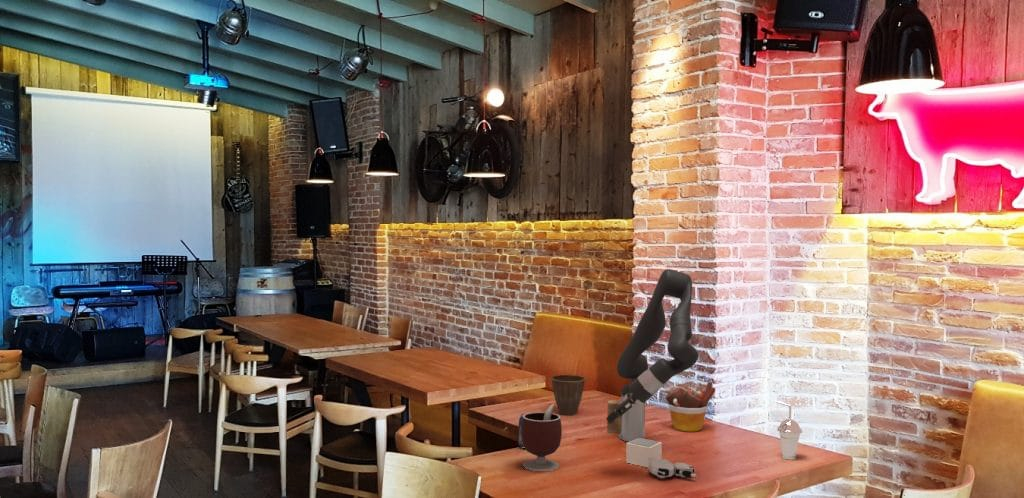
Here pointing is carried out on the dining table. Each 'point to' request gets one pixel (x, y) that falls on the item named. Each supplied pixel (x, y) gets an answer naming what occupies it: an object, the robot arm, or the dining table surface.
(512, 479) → the dining table surface
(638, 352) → the robot arm
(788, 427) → the cup with straw
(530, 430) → the mate gourd
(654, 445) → the block
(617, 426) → the walnut block
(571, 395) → the plant pot
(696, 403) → the bucket of meat
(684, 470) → the robot toy
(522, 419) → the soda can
